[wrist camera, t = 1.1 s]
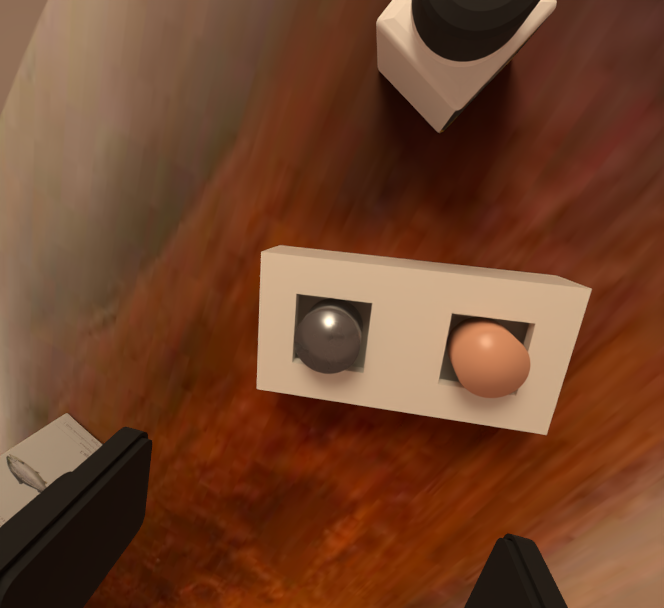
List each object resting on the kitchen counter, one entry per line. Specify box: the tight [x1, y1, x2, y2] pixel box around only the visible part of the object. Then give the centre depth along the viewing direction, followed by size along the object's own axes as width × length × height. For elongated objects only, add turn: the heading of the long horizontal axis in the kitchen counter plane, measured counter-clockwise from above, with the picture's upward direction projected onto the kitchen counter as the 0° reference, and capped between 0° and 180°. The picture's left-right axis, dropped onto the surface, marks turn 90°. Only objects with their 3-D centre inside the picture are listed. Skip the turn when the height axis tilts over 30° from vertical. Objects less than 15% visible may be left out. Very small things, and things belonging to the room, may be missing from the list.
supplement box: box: [0, 413, 102, 527], centre depth 36 cm, size 7×7×13 cm
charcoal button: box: [294, 298, 363, 374], centre depth 28 cm, size 5×5×4 cm
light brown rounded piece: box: [446, 316, 531, 398], centre depth 26 cm, size 5×5×4 cm
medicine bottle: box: [376, 0, 557, 133], centre depth 20 cm, size 7×7×12 cm
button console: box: [257, 245, 592, 435], centre depth 29 cm, size 24×12×5 cm, turn 84°
